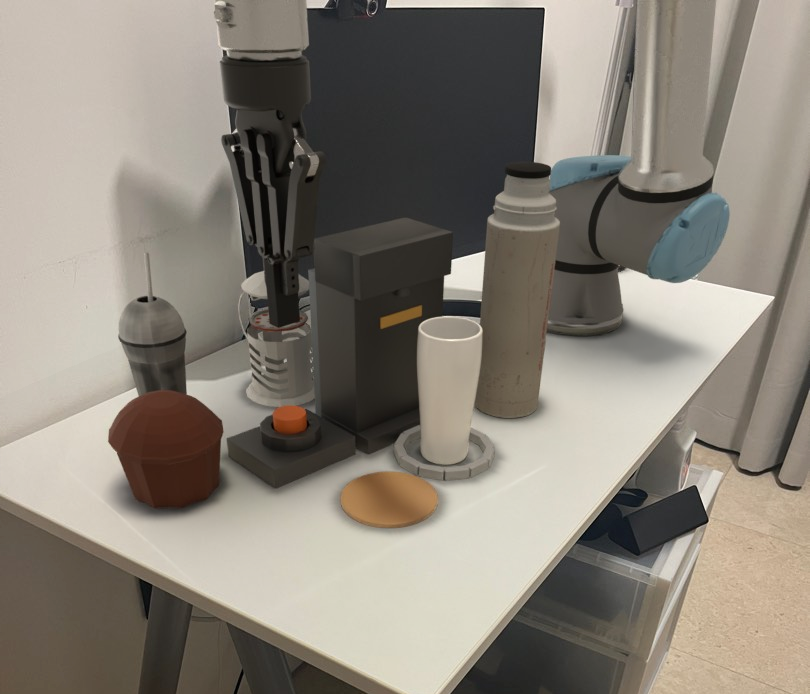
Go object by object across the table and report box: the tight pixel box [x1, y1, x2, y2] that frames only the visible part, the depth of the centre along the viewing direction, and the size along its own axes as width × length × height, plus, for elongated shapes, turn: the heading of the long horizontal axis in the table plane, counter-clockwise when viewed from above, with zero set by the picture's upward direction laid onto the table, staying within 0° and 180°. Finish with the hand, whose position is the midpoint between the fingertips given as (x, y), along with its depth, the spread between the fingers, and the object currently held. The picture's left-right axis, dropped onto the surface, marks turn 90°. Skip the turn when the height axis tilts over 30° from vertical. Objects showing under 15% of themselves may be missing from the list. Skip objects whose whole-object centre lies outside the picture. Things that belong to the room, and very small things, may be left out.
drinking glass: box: [417, 315, 483, 466], centre depth 89 cm, size 7×7×15 cm
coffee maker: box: [307, 216, 496, 481], centre depth 90 cm, size 13×22×22 cm, turn 43°
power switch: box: [226, 408, 357, 489], centre depth 92 cm, size 11×9×4 cm
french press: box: [237, 270, 315, 408], centre depth 99 cm, size 10×12×25 cm
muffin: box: [107, 390, 224, 509], centre depth 84 cm, size 12×11×10 cm
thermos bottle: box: [474, 161, 560, 419], centre depth 96 cm, size 8×8×28 cm
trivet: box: [340, 471, 439, 529], centre depth 85 cm, size 10×10×1 cm
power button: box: [272, 405, 307, 434], centre depth 90 cm, size 4×4×2 cm
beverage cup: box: [117, 252, 188, 397], centre depth 92 cm, size 7×7×20 cm
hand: (284, 322), depth 84 cm, fingers closed
